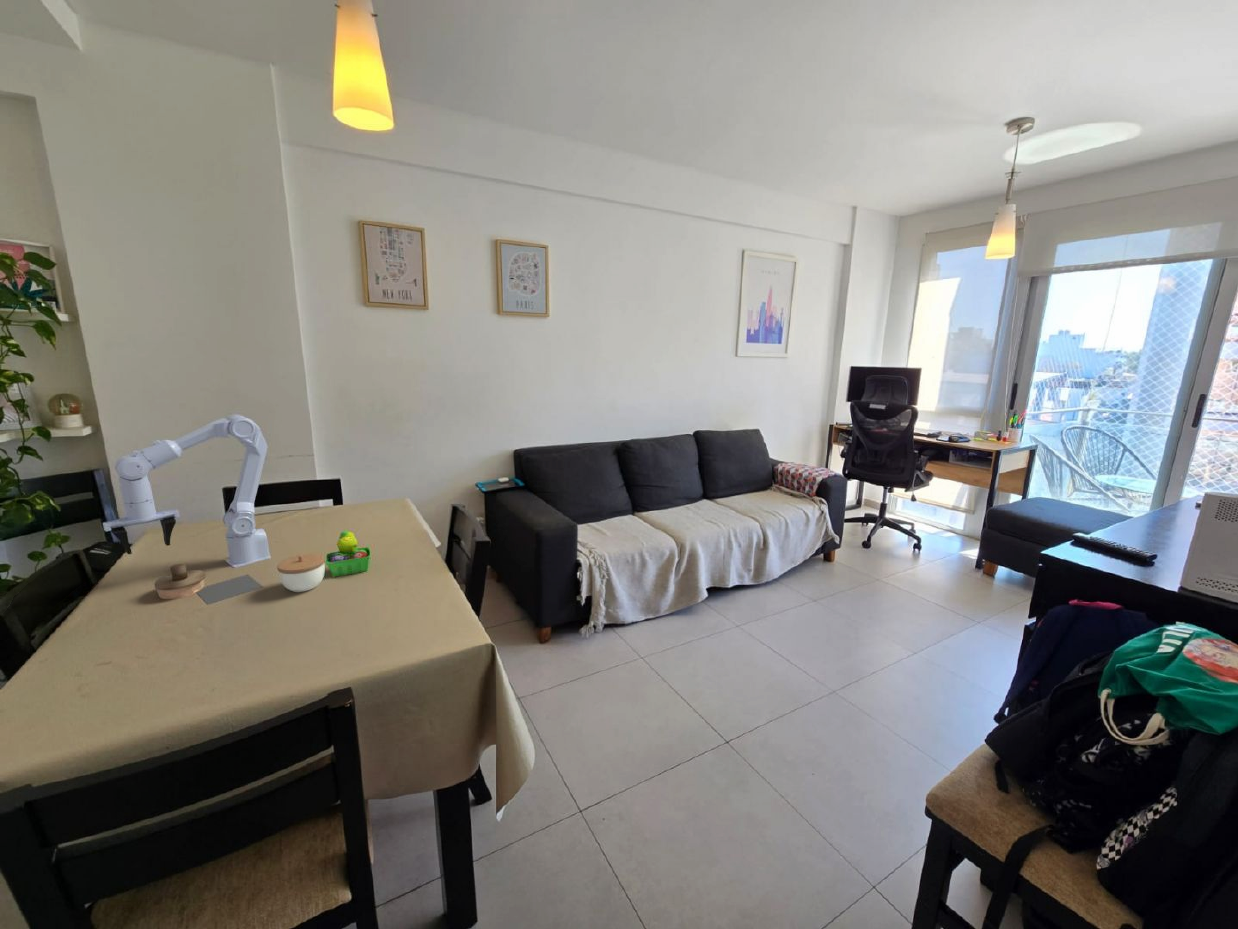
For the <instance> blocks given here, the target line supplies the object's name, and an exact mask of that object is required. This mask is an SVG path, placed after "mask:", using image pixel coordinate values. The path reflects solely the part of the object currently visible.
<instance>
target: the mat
mask: <svg viewBox="0 0 1238 929" xmlns="http://www.w3.org/2000/svg"><path fill="white" fill-rule="evenodd" d="M262 588H264V586H263V585H262V584H260V583H259V582H258V581H257V580H256V579H255V578H253V577H252V576H250V574H248V573H247V574H244V575H241V576H237V577H234V578H230V579H227V580H224V581H221V582H217V583H213V584H210V585H206V586H204V587H203V588H202V589H201V590H199V591H198V592H196V593H195V594H197V596H199V597H200V598H201V600H203V601H204V603H206V604H207V605H211V604H214V603H215V604H216V603H218V602H221V601H223V600H227V599H230V598H231V599H232V598H234V597H236V596H237V597H238V596H239V595H243V594H246V593H251V592H252V591H256V590H260V589H262Z"/></svg>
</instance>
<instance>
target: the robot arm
mask: <svg viewBox="0 0 1238 929" xmlns="http://www.w3.org/2000/svg"><path fill="white" fill-rule="evenodd" d="M230 436H232V437H234V438H235V439H236V440H238V442H239V443H240V444H241V445H242V446H243V447H244V448H245V453H244V457H243V460H242V465H241V468H240V472H239V477H238V481H237V485H236V489H235V494H234V498H233V500H232V502H231V503H230V505H229V508H228V510H227V511H226V512H225V513H224V515H223V517H222V522H223V524H224V526H225V527H227V531H226V532H225V538H226V544H227V551H228V556H229V558H227V559H225V562H226V563H227V564H229V565H230V566H231V567H232V568H239V567H243V566H245V565H250V564H253V563H257V562H260V561H264V560H267V559H271V558H272V556H271V554H270V548H269V541H268V537H267V533H266V531H265V530H264V528H257V529H256V521H255V513H256V511H255V500H256V496H257V493H258V488H259V485H260V482H261V481H260V480H261V476H262V472H263V468H264V463H265V461H266V456H267V452H268V444H267V442H266V439H265V438H264V435H263V433H262V430H261V427H260V426H259V425H257V423H256V422H254V420H252V419H251V418H247V417H245V416H244V415H241V414H238V413H237V414H230V415H228V416H227V417H222V418H220V419H217V420H214V421H211V422H210V423H208V424H205V425H203V426H202V427H199V428H197V429H195V430H194V431H191V432H189V433H186V434H184V435H182V436H181V437H179V438H177V439H175V440H170V439H163V440H159V439H156V440H154V441H152V443H153V444H151V445H149V446H147V447H144V448H142V449H139V450H136V449H135V450H133V451H132V452H131V454H128V455H123V456H121V457H119V458H118V459H117V460H116V461H115V464H114V469H115V471H116V473H117V474H118V483H119V484H120V485H119V489H120V493H121V497H122V498H121V499H122V504H123V506H124V507H123V508H124V512H125V515H126V517H123V518H122V517H121V518H118V519H114V520H110V521H104V522H102V525H103V531H104V532H109V531H110V532H111V533H112V534H113V535H114V536H115V537H116V538H117V539H118V540H119V542H120V543H121V544H122V546H123V547H124V550H125V553H126V554H127V555H132V552H133V551H132V548H131V546H130V542H129V538H128V536H129V535H128V531H127V530H126V528H128V527H131V526H132V527H133V526H138V525H142V524H148V523H153V522H157V521H158V522H159V523H160V525H161V528H162V532H163V533H162V534H163V540H164V541H163V542H164V545H165V546H166V547H168V546H170V545H171V536H172V532H173V530H174V528H175V525H176V523H177V520H176V519H177V518H180V512H179V510H178V509H177V508H176V509H168V510H161V511H157V510H156V505H155V500H154V495H153V491H152V486H151V482H150V481H149V478H148V474H149V471H153V470H154V471H155V470H156V469H159V468H160V467H163V466H165V465H167V464H169V463H171V462H173V461H176V460H178V459H179V458H181V455H182V453H183V451H186V450H188V449H191V448H193V447H196V446H198V445H199V444H203V443H204V442H207V441H209V440H212V439H216V438H220V439H221V438H223V439H226V438H227V439H229V438H230Z"/></svg>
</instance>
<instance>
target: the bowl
mask: <svg viewBox="0 0 1238 929" xmlns="http://www.w3.org/2000/svg"><path fill="white" fill-rule="evenodd" d="M204 579H205V578H204ZM204 579H203V580H202V581H200V582H198V583H196V584H194V585H191V586H188V587H184V588H180V589H175V590H157V589H156V591H157V595H158V597H159V598H160V599H163V600H175V599H181V598H185V597H188V596H190V595H191V596H192V595H193V594H197V593H196V592H198V591H199V590H201V589H202V588H203V587H205V580H204Z"/></svg>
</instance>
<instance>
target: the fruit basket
mask: <svg viewBox="0 0 1238 929" xmlns="http://www.w3.org/2000/svg"><path fill="white" fill-rule="evenodd" d="M358 544H359V543H358V540H357V539H356V537H355V534H354V533H353V532H351V531H349V530H344V531H342V532H341V533H340V535H339V539H338V540H337V542H336V546H337V547H338V551H334V552H329V553H327V554H326V557H325V565H326V566H327V567H328V569H329V571H330V574H331V576H332V577H333V578H334V577H339V576H346V575H350V574H352V575H353V574H357V573H358V574H359V573H362V572H363V573H364V572H368V570H369V565H370V559H371V555H372V554H371V546H370V547H369V546H368V547H367V546H366V547H360V548H358Z"/></svg>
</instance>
